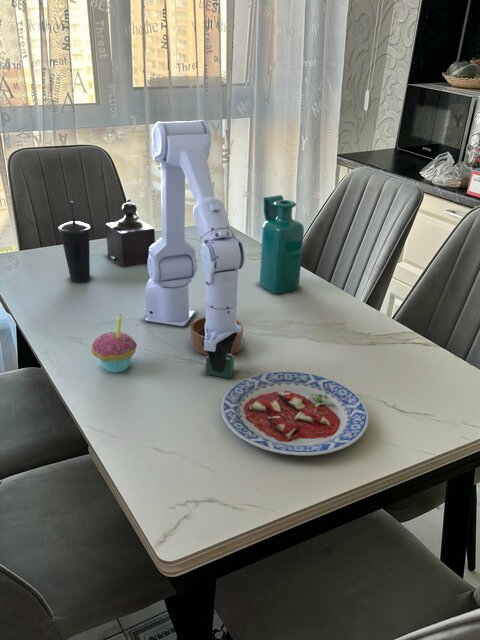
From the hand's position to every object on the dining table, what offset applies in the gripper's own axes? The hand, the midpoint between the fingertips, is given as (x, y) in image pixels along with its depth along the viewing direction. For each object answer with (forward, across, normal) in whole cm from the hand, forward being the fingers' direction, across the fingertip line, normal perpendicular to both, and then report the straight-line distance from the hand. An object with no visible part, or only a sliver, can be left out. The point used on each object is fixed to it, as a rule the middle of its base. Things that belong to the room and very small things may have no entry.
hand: (220, 366), depth 118 cm
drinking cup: (+2, +35, +48) cm, 60 cm away
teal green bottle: (+2, +48, -2) cm, 48 cm away
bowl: (+2, +11, +4) cm, 12 cm away
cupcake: (+2, -4, +20) cm, 21 cm away
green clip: (+1, 0, 0) cm, 1 cm away
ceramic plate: (+2, -11, -17) cm, 20 cm away
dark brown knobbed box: (+2, +52, +40) cm, 66 cm away
